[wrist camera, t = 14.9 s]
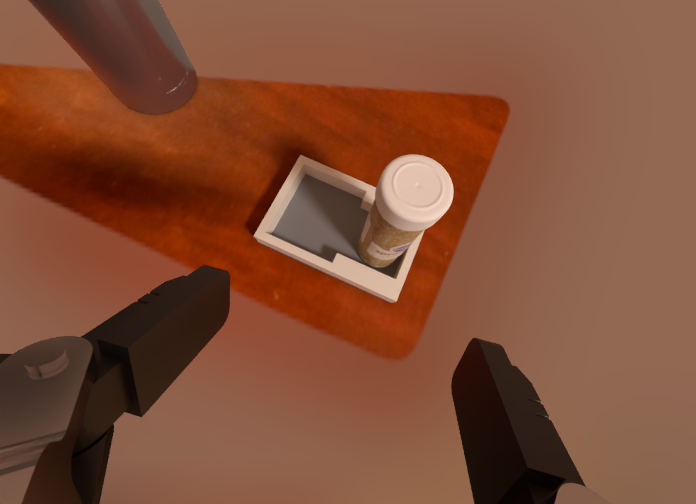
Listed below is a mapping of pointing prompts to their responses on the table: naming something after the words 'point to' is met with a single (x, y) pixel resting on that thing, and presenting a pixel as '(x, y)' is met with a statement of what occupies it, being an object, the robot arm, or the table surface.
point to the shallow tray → (330, 228)
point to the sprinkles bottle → (404, 207)
